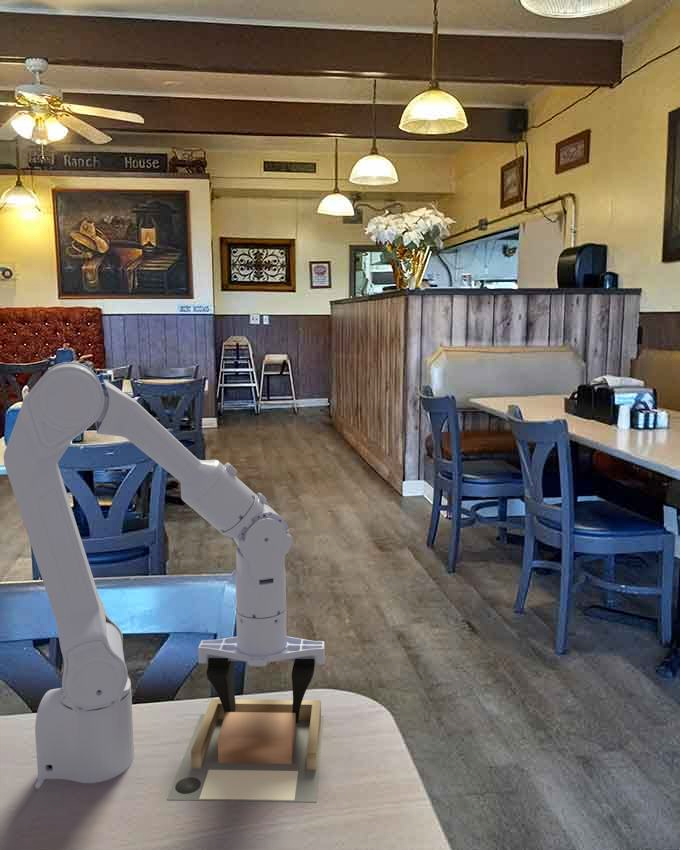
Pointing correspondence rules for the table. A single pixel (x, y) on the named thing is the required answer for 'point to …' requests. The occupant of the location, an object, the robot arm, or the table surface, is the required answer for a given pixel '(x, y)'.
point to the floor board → (248, 774)
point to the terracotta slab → (257, 738)
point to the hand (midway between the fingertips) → (263, 718)
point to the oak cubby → (216, 711)
